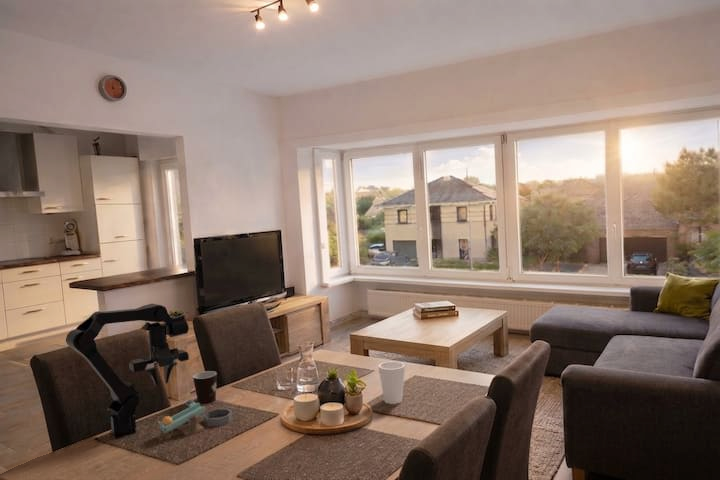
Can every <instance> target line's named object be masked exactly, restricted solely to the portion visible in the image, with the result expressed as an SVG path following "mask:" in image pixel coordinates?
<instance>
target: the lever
mask: <svg viewBox="0 0 720 480" xmlns="http://www.w3.org/2000/svg"><path fill="white" fill-rule="evenodd" d="M184 404H185V405H186V406H188V407H187V408H186V409H184V410H182V411H180V412H178V413H176V414H173V416H170V417H171V418H172V420H173V422H172V424H170V425H168V426H166V427H165V425H164V424H162V421H161V420H159V421H158V422H157V424H158V426H159V428H160V429H159V430H160V431H161V430H162V431H163V432H164V433H167V432H170V431H172V430H175V429H176V427H178V426H180V425H182V424H184V423H185V422H187V421H190V417H193V416H195V417H196V418H197V417H198V416H201V415H202V414H205V412H206V413H207V411H206V410H207V409H206V406H204V405H203V406H201V404H200V403H199V402H198V401H197V402H196V401H194V399H193V398H191V399H188V400H186V401H185V402H184Z"/></svg>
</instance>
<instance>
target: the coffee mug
mask: <svg viewBox="0 0 720 480" xmlns="http://www.w3.org/2000/svg"><path fill="white" fill-rule="evenodd" d="M217 375H218V373H217V371H214V370H207V371H200V372H197V373H194V374H193V376H192V379H193V383H194V384H193V385H194V389H195V394H196V399H197V403H198V402H199V403H200V405H209V404H212V403H214V402H216V399H217V397H216V395H217V377H218V376H217Z"/></svg>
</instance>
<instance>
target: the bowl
mask: <svg viewBox="0 0 720 480" xmlns="http://www.w3.org/2000/svg"><path fill="white" fill-rule="evenodd" d="M202 417H203V418H202V419H203V424H204V425H206V426H207V427H221V426H223V425H226V424H229V423H230V422H231V421H232V420H233V411H232V410H231V409H229V408H215V409H212V410H208V411H206V413H204V415H203V416H202Z"/></svg>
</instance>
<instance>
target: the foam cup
mask: <svg viewBox="0 0 720 480" xmlns="http://www.w3.org/2000/svg"><path fill="white" fill-rule="evenodd" d="M405 372H406V367H405V363H404V362H402V361H394V360H391V361H390V360H389V361H384V362H381V363H379V364H378V375H379V378H380V383H381V384H380V385H381V388H382V389H381V390H382V395H383V399H384V400H383V401H384V403H385V404H388V403H389V405H398V404H400V403H402V402H403V393H404V383H405V382H404V379H405ZM401 401H402V402H401ZM397 403H398V404H397Z"/></svg>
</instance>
